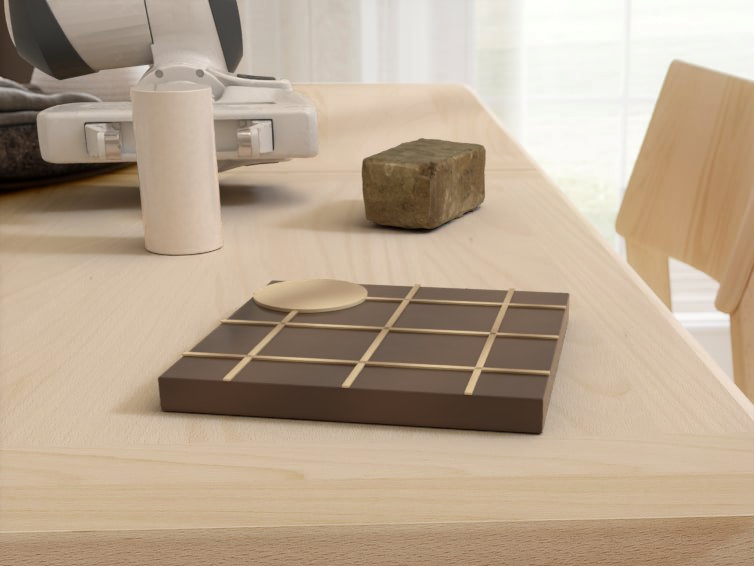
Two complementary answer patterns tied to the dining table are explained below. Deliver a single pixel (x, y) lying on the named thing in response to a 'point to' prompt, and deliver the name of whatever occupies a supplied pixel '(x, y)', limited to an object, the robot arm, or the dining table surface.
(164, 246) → the tall white cylinder
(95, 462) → the dining table surface
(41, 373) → the dining table surface
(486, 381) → the grid board
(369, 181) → the stone block
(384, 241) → the dining table surface
